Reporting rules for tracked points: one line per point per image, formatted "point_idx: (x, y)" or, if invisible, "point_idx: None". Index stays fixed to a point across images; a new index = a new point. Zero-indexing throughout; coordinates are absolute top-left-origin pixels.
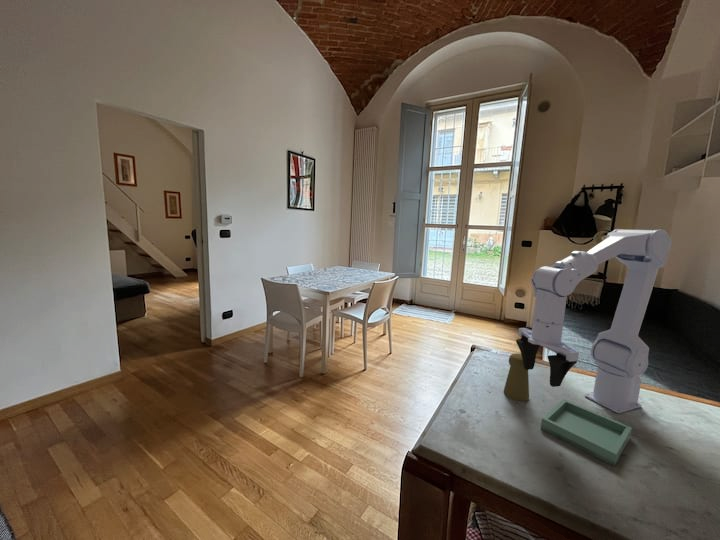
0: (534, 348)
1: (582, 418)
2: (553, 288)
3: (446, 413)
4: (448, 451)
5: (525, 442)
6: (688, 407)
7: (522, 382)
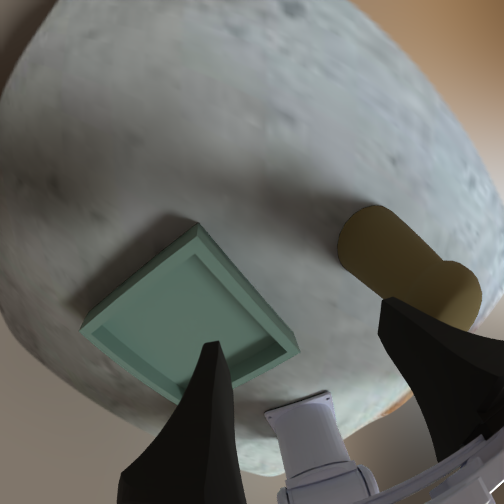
0: (437, 414)
1: (238, 352)
2: None
3: None
4: None
5: (132, 138)
6: (275, 467)
7: (376, 270)
